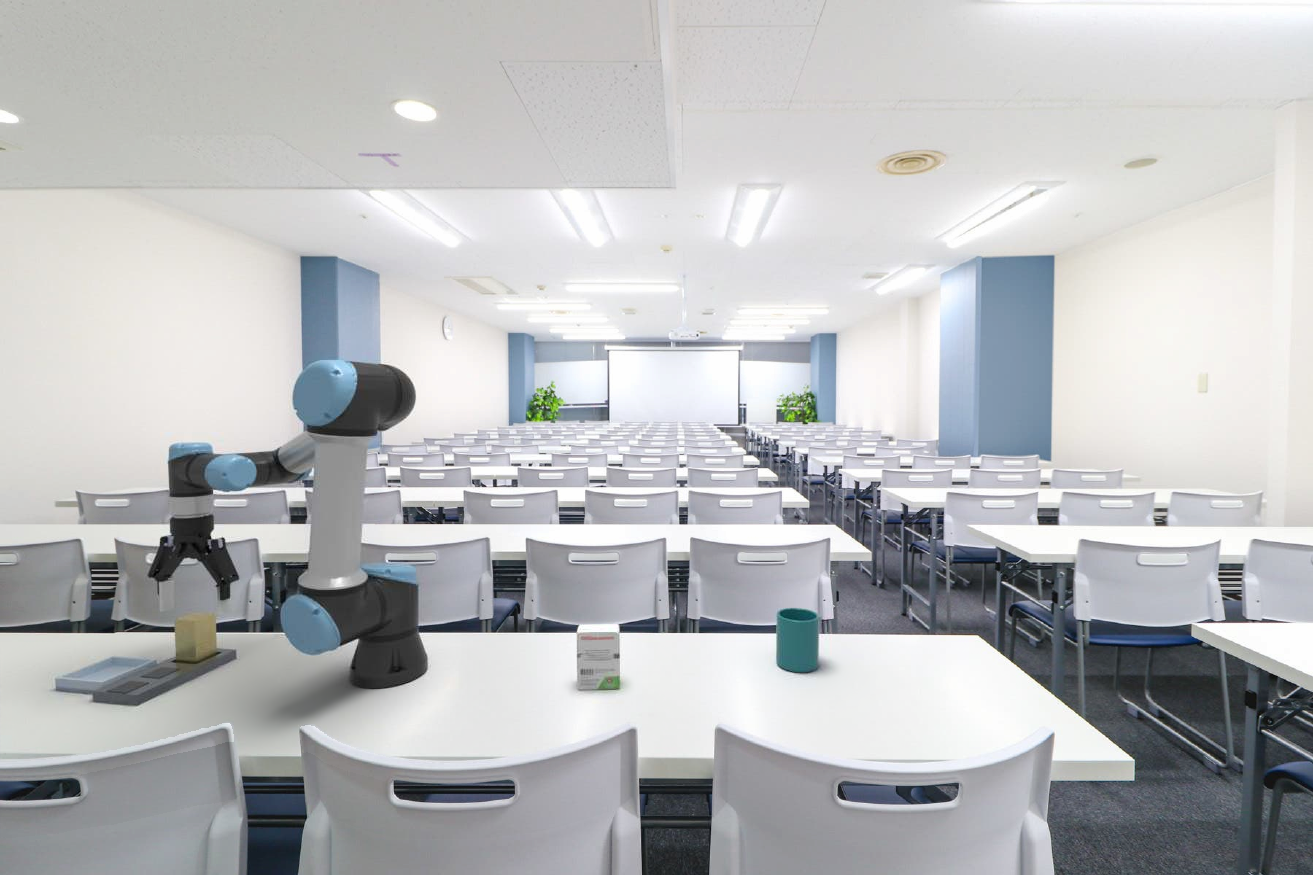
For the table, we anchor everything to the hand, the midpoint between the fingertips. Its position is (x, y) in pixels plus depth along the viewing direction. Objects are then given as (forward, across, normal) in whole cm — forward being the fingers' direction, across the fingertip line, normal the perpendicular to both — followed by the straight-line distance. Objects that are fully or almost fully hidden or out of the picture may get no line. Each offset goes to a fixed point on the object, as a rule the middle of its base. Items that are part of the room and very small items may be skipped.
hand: (194, 612), depth 131 cm
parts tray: (+12, +11, +9) cm, 19 cm away
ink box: (+11, -88, -6) cm, 89 cm away
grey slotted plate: (+12, 0, +6) cm, 13 cm away
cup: (+10, -128, -24) cm, 131 cm away
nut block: (+12, 0, 0) cm, 12 cm away
